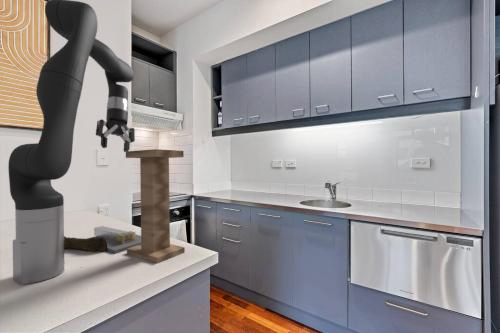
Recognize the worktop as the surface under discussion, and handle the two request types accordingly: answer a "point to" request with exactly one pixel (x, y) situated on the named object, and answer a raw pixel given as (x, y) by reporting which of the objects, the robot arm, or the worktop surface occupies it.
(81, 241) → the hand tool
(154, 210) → the walnut stand
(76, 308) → the worktop surface
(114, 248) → the rubber mat
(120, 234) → the grey rectangular bar
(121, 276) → the worktop surface
